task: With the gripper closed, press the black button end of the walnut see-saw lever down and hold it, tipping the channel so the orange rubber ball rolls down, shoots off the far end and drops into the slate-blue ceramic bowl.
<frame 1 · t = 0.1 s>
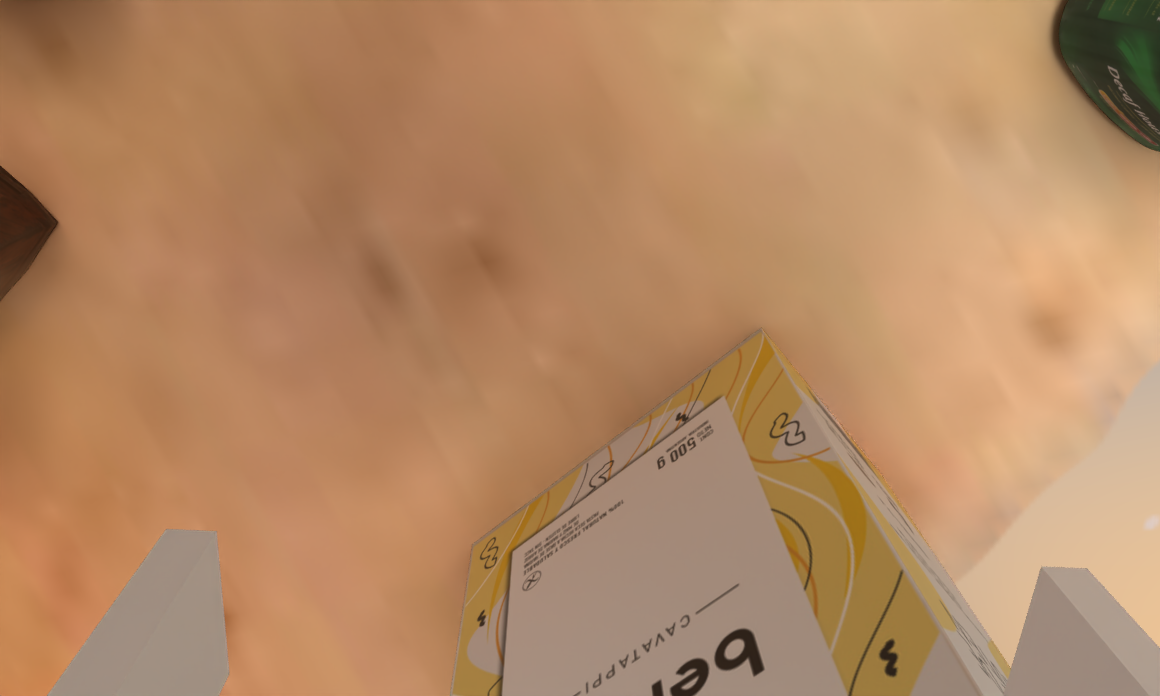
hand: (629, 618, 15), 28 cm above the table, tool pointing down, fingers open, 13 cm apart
coffee jar: (1159, 37, 39), on the table
pasta box: (675, 509, 47), on the table
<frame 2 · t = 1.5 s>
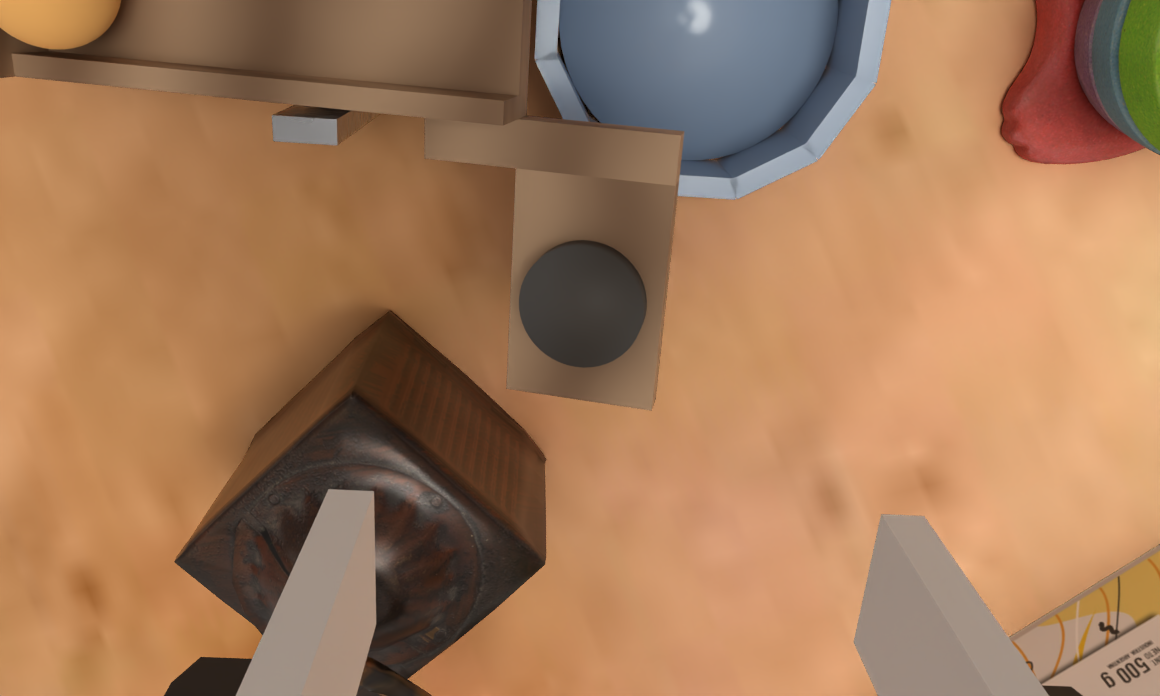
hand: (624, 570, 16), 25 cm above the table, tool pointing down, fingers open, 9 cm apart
brown manual coffee grinder: (432, 486, 45), on the table
bowl: (696, 19, 37), on the table
lever: (321, 153, 29), point 10 cm above the table, hinge at -13.5°, touching ball
pasta box: (1058, 692, 50), on the table
stacking bear: (1129, 24, 37), on the table
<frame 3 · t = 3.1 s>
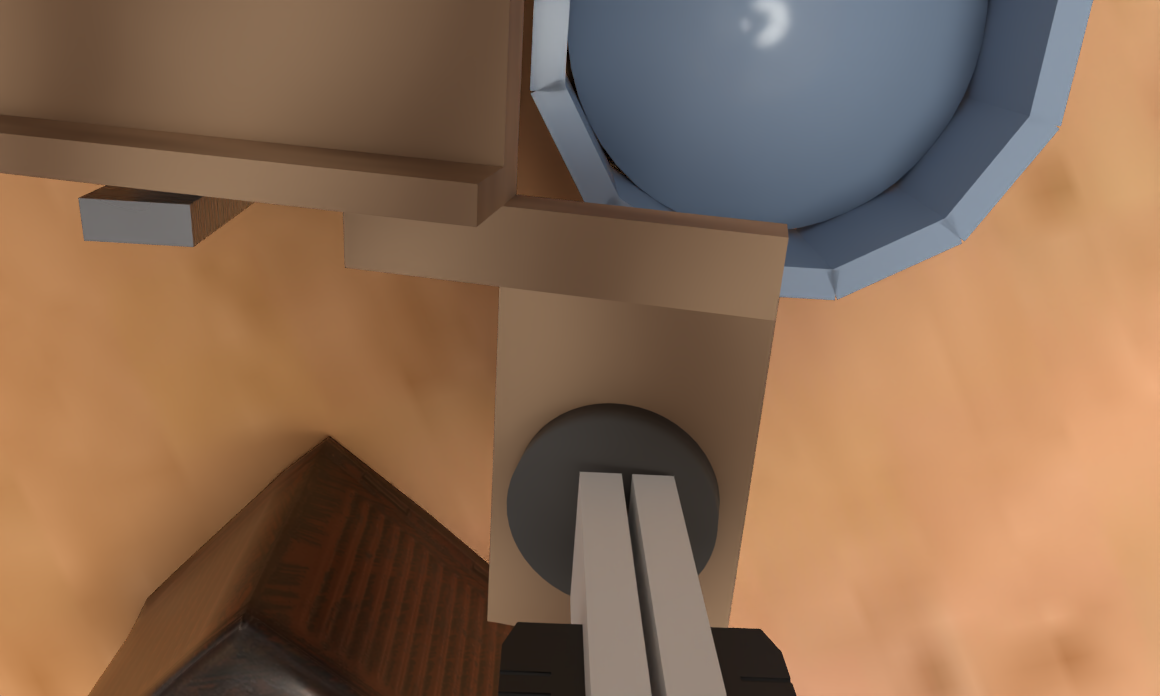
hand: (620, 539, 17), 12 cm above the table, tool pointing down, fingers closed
brown manual coffee grinder: (393, 660, 33), on the table
bowl: (772, 25, 25), on the table
lever: (166, 263, 17), point 10 cm above the table, hinge at -11.6°, touching ball, gripper
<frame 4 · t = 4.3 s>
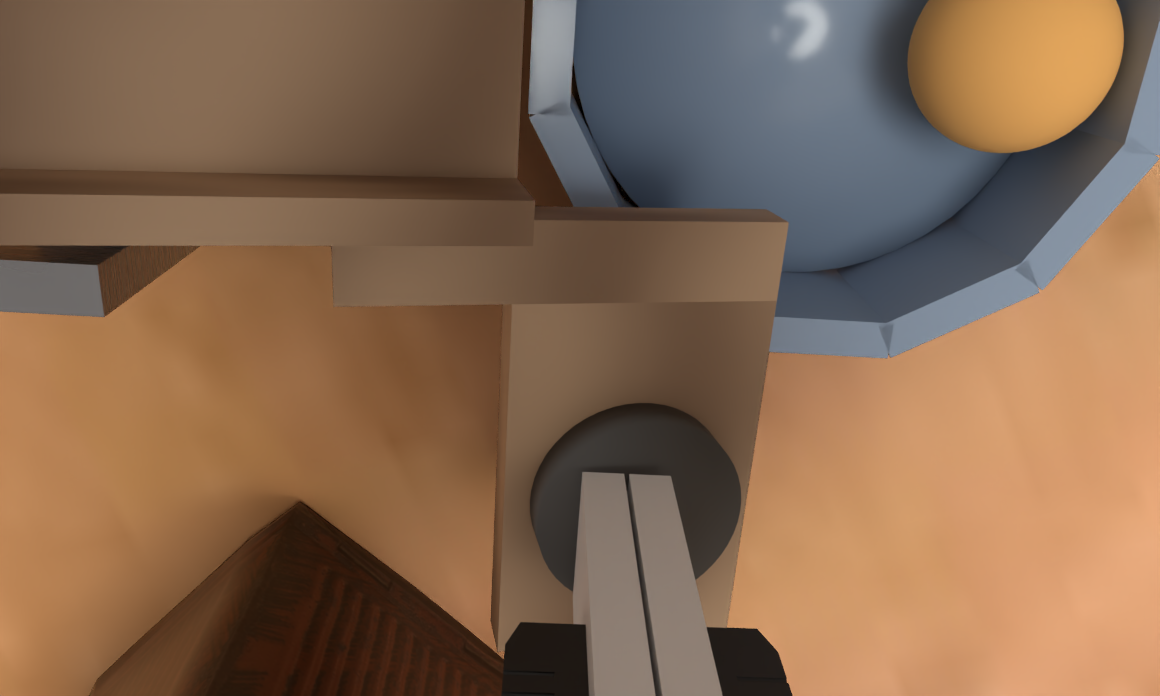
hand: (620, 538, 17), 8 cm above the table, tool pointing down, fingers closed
ball: (1010, 53, 19), point 3 cm above the table, tilted 23°, touching bowl
bowl: (811, 34, 21), on the table
lever: (124, 332, 14), point 9 cm above the table, hinge at 12.1°, touching gripper
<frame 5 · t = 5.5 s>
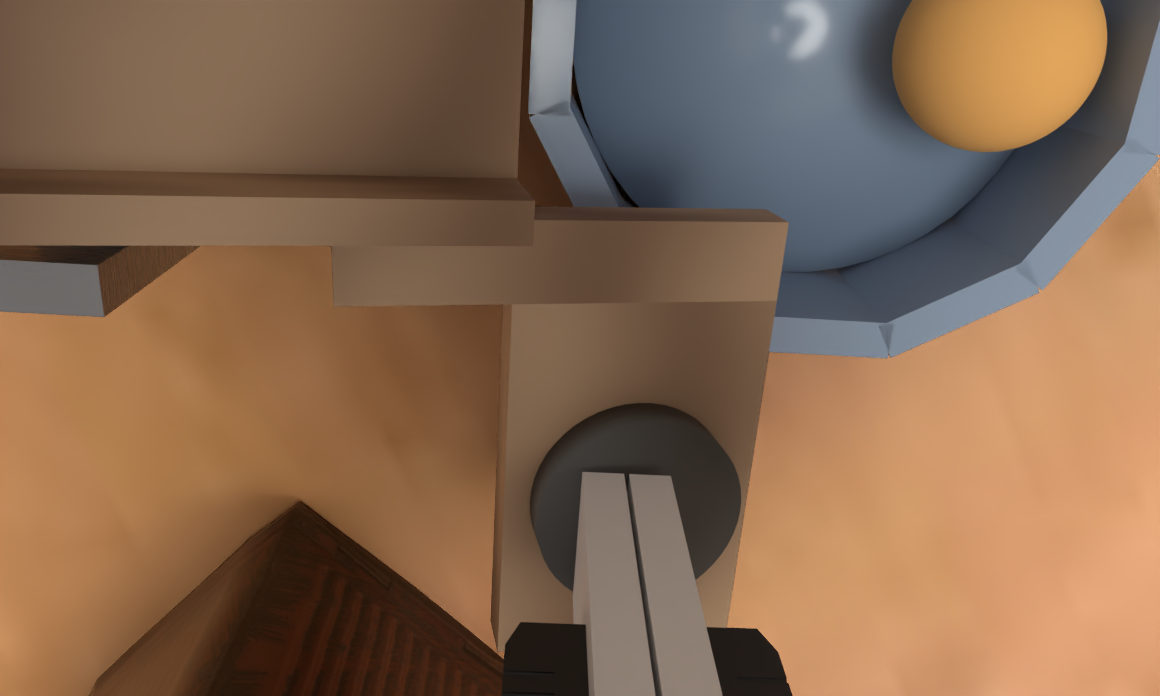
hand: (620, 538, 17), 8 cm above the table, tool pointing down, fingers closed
ball: (995, 52, 19), point 3 cm above the table, tilted 14°, touching bowl
bowl: (811, 34, 21), on the table
lever: (124, 332, 14), point 9 cm above the table, hinge at 12.1°, touching gripper
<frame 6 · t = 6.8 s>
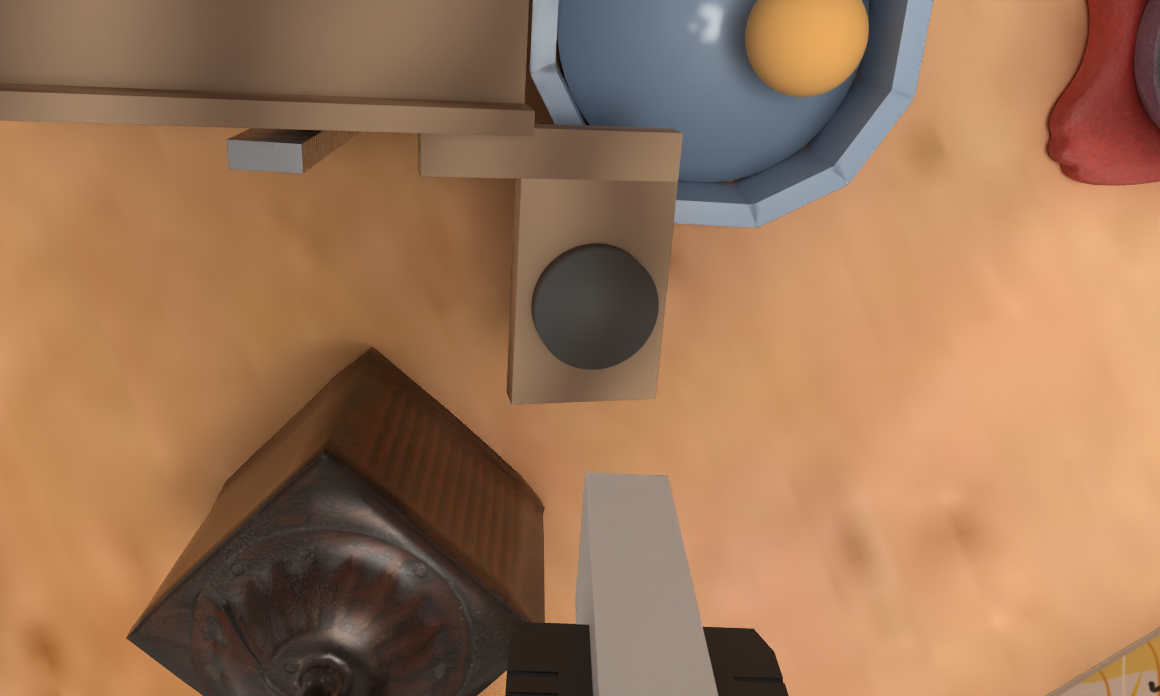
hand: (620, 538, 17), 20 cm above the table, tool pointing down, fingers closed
ball: (805, 35, 31), point 3 cm above the table, touching bowl
brown manual coffee grinder: (420, 536, 41), on the table
bowl: (710, 26, 33), on the table
stand: (335, 0, 32), on the table
lever: (313, 181, 25), point 9 cm above the table, hinge at 12.1°
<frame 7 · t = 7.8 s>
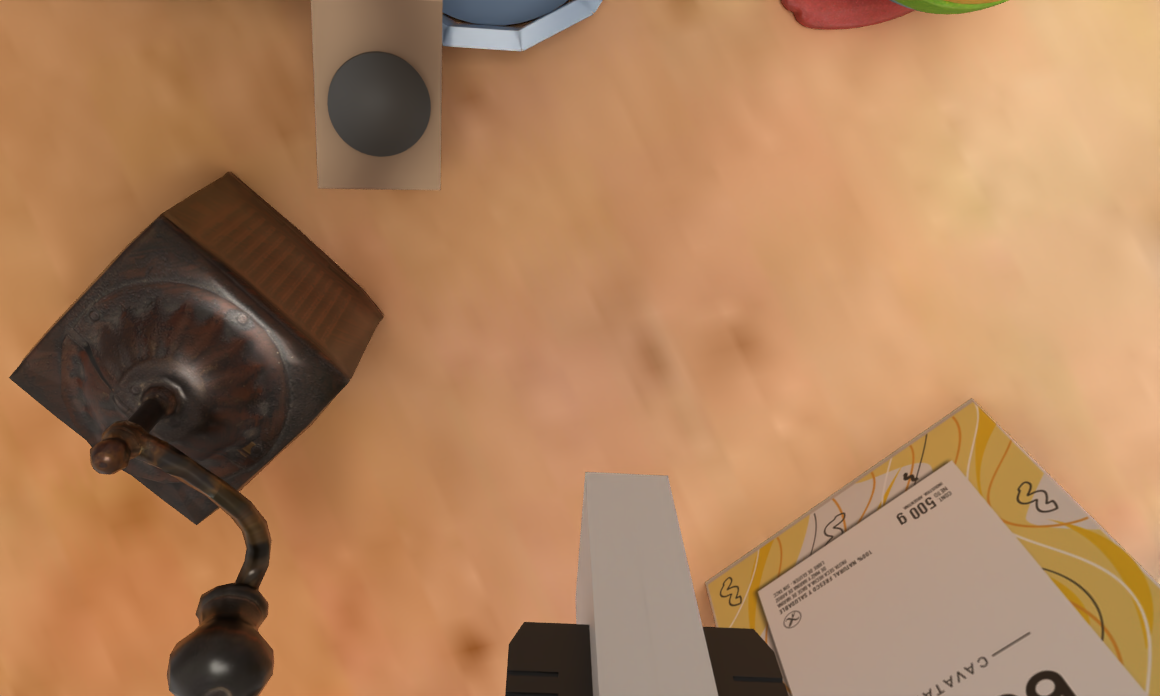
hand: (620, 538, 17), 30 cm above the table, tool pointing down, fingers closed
brown manual coffee grinder: (282, 345, 48), on the table
pasta box: (882, 551, 54), on the table
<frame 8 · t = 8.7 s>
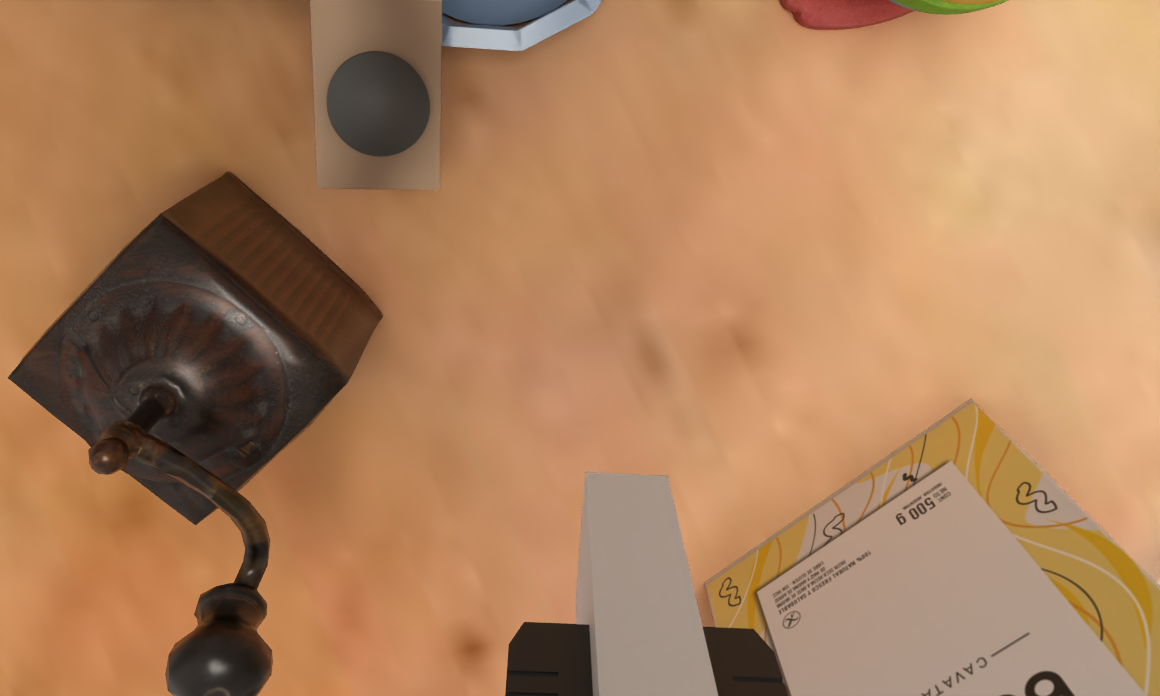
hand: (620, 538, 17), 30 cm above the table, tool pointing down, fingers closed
brown manual coffee grinder: (281, 345, 48), on the table
pasta box: (882, 551, 54), on the table
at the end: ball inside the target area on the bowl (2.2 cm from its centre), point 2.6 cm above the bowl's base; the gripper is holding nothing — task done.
